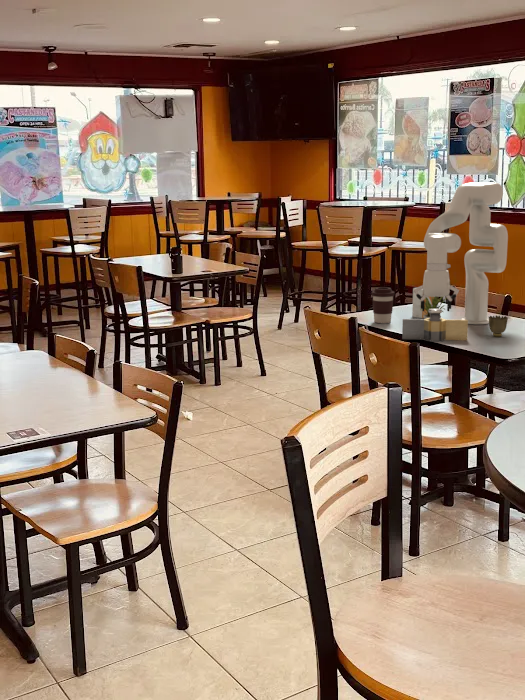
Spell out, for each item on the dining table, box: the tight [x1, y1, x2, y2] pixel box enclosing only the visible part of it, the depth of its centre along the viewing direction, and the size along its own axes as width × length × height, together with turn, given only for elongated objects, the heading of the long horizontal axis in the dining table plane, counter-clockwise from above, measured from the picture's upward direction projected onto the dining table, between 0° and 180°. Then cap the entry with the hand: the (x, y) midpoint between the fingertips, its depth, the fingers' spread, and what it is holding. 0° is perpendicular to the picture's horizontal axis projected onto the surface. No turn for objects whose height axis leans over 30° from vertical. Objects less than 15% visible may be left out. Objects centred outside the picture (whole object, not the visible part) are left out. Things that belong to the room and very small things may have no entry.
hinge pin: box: [429, 308, 443, 321], centre depth 342 cm, size 5×5×12 cm
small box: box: [412, 287, 434, 319], centre depth 390 cm, size 8×6×13 cm
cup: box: [488, 315, 509, 338], centre depth 346 cm, size 8×7×8 cm
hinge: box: [401, 317, 469, 343], centre depth 342 cm, size 8×25×8 cm, turn 81°
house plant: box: [419, 297, 447, 319], centre depth 358 cm, size 14×14×16 cm
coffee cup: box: [371, 286, 395, 324], centre depth 378 cm, size 10×10×15 cm
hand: (435, 310), depth 341 cm, fingers open, 9 cm apart
